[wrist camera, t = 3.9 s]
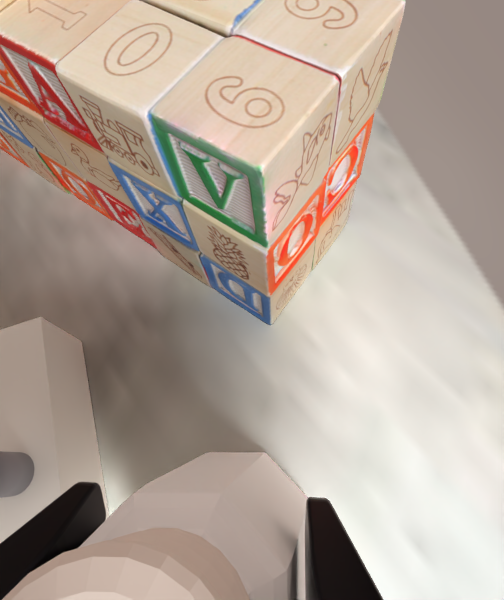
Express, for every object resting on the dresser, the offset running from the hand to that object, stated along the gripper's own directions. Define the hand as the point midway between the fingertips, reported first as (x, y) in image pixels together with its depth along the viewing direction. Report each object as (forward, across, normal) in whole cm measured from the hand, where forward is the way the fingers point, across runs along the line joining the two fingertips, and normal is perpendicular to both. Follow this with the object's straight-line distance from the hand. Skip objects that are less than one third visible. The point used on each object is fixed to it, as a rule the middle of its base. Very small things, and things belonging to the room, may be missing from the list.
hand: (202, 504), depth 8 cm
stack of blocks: (+15, +6, -5) cm, 17 cm away
